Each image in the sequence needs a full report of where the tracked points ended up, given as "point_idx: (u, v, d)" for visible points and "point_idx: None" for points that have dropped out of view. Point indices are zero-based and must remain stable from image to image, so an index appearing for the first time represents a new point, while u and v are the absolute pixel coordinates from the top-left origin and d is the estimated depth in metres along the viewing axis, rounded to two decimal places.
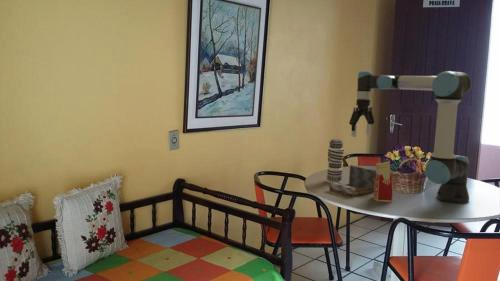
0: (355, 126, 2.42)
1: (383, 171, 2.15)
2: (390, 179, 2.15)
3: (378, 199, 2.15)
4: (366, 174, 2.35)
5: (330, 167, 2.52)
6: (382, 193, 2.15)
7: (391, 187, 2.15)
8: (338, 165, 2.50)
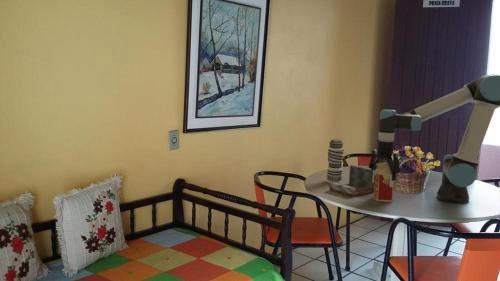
0: (373, 171, 2.21)
1: (383, 170, 2.14)
2: None
3: (378, 199, 2.15)
4: (366, 174, 2.35)
5: (330, 167, 2.52)
6: (382, 193, 2.15)
7: (391, 187, 2.15)
8: (338, 165, 2.50)
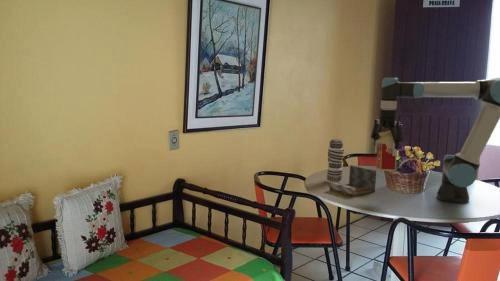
0: (376, 141, 2.19)
1: (386, 139, 2.12)
2: None
3: (381, 168, 2.13)
4: (366, 174, 2.35)
5: (330, 167, 2.52)
6: (385, 162, 2.12)
7: (394, 156, 2.12)
8: (338, 165, 2.50)
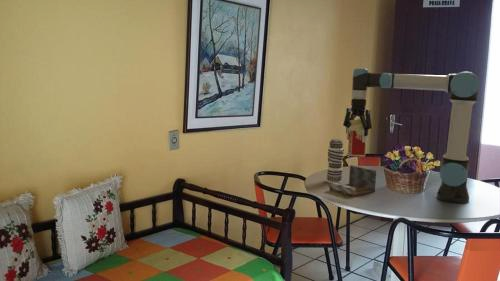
0: (347, 128, 2.32)
1: (356, 127, 2.25)
2: None
3: (351, 154, 2.26)
4: (366, 174, 2.35)
5: (330, 167, 2.52)
6: (355, 148, 2.26)
7: (364, 142, 2.26)
8: (338, 165, 2.50)
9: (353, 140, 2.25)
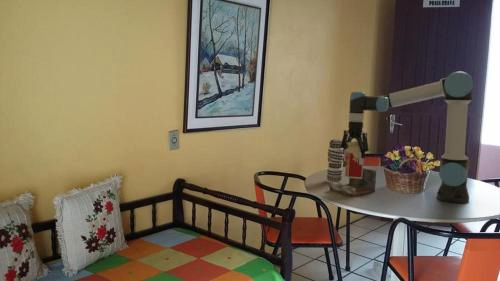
0: None
1: (353, 149, 2.28)
2: None
3: (348, 176, 2.29)
4: (366, 174, 2.35)
5: (330, 167, 2.52)
6: (352, 170, 2.28)
7: (361, 165, 2.28)
8: (338, 165, 2.50)
9: (350, 162, 2.28)
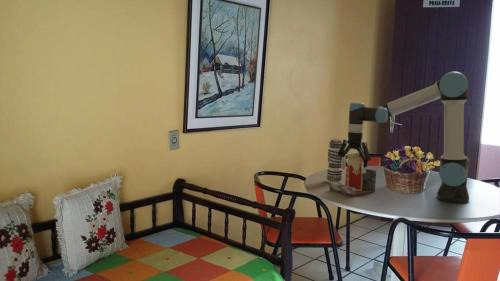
0: (342, 158, 2.36)
1: (353, 161, 2.29)
2: (359, 169, 2.29)
3: None
4: (366, 174, 2.35)
5: (330, 167, 2.52)
6: (352, 183, 2.29)
7: (360, 177, 2.29)
8: (338, 165, 2.50)
9: (350, 174, 2.29)
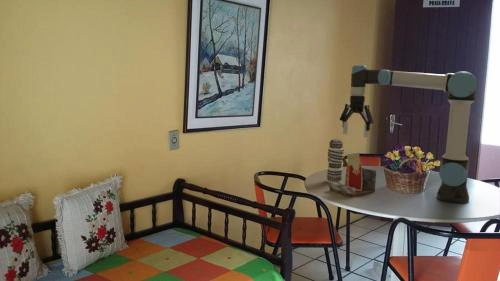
0: (343, 123, 2.34)
1: (353, 161, 2.29)
2: (359, 169, 2.29)
3: None
4: (366, 174, 2.35)
5: (330, 167, 2.52)
6: (352, 183, 2.29)
7: (360, 177, 2.29)
8: (338, 165, 2.50)
9: (350, 175, 2.29)
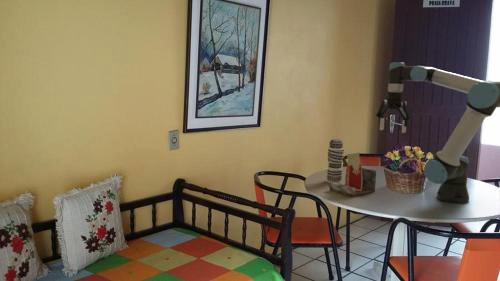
0: (380, 119, 2.38)
1: (353, 161, 2.29)
2: (359, 169, 2.29)
3: None
4: (366, 174, 2.35)
5: (330, 167, 2.52)
6: (352, 183, 2.29)
7: (360, 177, 2.29)
8: (338, 165, 2.50)
9: (350, 174, 2.29)
